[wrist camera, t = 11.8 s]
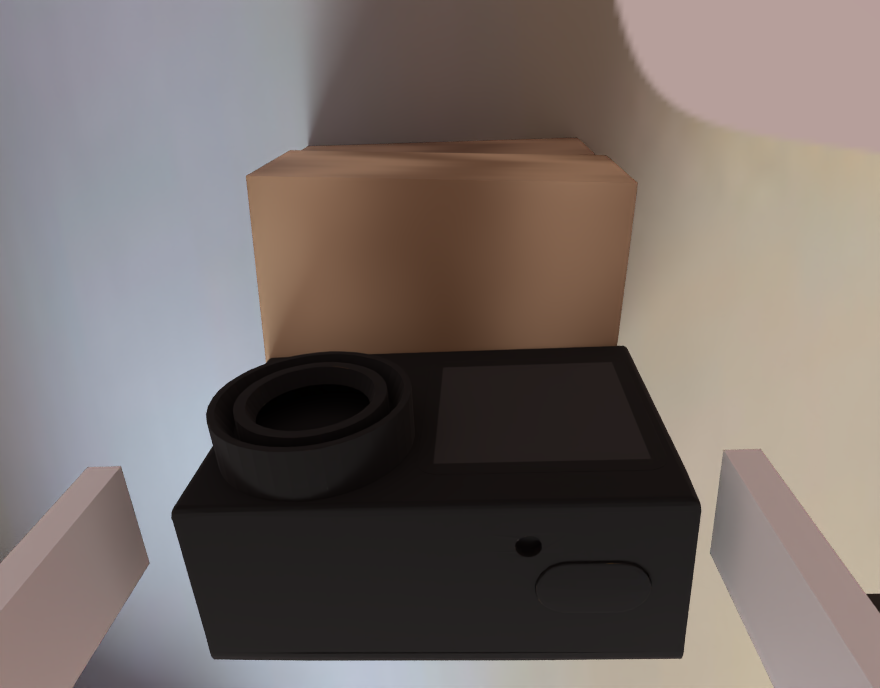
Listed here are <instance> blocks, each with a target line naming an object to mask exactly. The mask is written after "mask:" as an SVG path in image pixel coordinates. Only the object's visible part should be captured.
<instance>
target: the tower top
mask: <svg viewBox="0 0 880 688" xmlns="http://www.w3.org/2000/svg"><path fill="white" fill-rule="evenodd" d="M246 181H247V190H248V199H249V209H250V218H251V227H252V236H253V246H254V255H255V264H256V273H257V282H258V292H259V301H260V310H261V319H262V329H263V338H264V347H265V356H266V362H267V361H268V360H269V359H270V358H278V357H291V356H296V355H301V354H308V353H315V352H328V351H346V352H359V353H365V354H390V353H419V352H449V351H480V350H510V349H541V348H571V347H602V346H617V341H618V334H619V326H620V318H621V310H622V302H623V295H624V287H625V279H626V271H627V263H628V256H629V248H630V240H631V232H632V224H633V217H634V209H635V201H636V193H637V185H638V183H637V182H636V181H635V180H634V179H633V178H631V177H630V176H629V175H628V174H627V173H626V172H625V171H623V170H622V169H621V168H620V167H619V166H618V165H617V164H615V163H614V162H613V161H612V160H611V159H610V158H609V157H607V156H606V155H546V154H485V153H423V152H362V151H300V150H290V151H288V152H286V153H285V154H283V155H281V156H279V157H278V158H276V159H274V160H273V161H271V162H269V163H267V164H266V165H264V166H262V167H261V168H259V169H257V170H255V171H254V172H252V173H250V174H249V175H247V176H246Z"/></svg>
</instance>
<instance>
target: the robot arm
mask: <svg viewBox="0 0 880 688" xmlns="http://www.w3.org/2000/svg"><path fill="white" fill-rule="evenodd" d="M710 554H711V556H712V558H713V560H714V562H715V564H716V567H717V569H718V571H719V573H720V575H721V577H722V579H723V581H724V583H725V585H726V588H727V590H728V592H729V594H730V596H731V598H732V600H733V602H734V604H735V607H736V609H737V611H738V613H739V615H740V617H741V619H742V621H743V623H744V625H745V628H746V630H747V632H748V634H749V636H750V638H751V640H752V642H753V644H754V646H755V649H756V651H757V653H758V655H759V657H760V659H761V661H762V663H763V665H764V668H765V670H766V672H767V674H768V676H769V678H770V680H771V682H772V684H773V686H774V688H880V594H866V593H865V592H864V591H863V589H862V588H861V587H860V585H859V584H858V582H857V581H856V580H855V578H854V577H853V576H852V574H851V573H850V571H849V570H848V569H847V567H846V566H845V564H844V563H843V562H842V560H841V559H840V558H839V556H838V555H837V553H836V552H835V551H834V549H833V548H832V547H831V545H830V544H829V542H828V541H827V540H826V538H825V537H824V535H823V534H822V533H821V531H820V530H819V529H818V527H817V526H816V524H815V523H814V522H813V520H812V519H811V518H810V516H809V515H808V513H807V512H806V511H805V509H804V508H803V506H802V505H801V504H800V502H799V501H798V500H797V498H796V497H795V495H794V494H793V493H792V491H791V490H790V489H789V487H788V486H787V484H786V483H785V482H784V480H783V479H782V477H781V476H780V475H779V473H778V472H777V471H776V469H775V468H774V466H773V465H772V464H771V462H770V461H769V460H768V458H767V457H766V455H765V454H764V453H763V451H762V450H761V449H739V450H723V458H722V466H721V473H720V481H719V489H718V496H717V504H716V511H715V519H714V527H713V534H712V542H711V550H710ZM148 565H149V559H148V556H147V553H146V549H145V546H144V542H143V539H142V536H141V532H140V529H139V526H138V522H137V519H136V515H135V512H134V509H133V505H132V502H131V499H130V495H129V492H128V488H127V485H126V482H125V478H124V475H123V472H122V468H121V466H113V467H87V469H86V470H85V471H84V472H83V473H82V474H81V475H80V476H79V477H78V478H77V480H76V481H75V482H74V483H73V484H72V485H71V486H70V487H69V488H68V489H67V491H66V492H65V493H64V494H63V495H62V496H61V497H60V498H59V499H58V500H57V502H56V503H55V504H54V505H53V506H52V507H51V508H50V509H49V510H48V511H47V513H46V514H45V515H44V516H43V517H42V518H41V519H40V520H39V521H38V523H37V524H36V525H35V526H34V527H33V528H32V529H31V530H30V531H29V532H28V534H27V535H26V536H25V537H24V538H23V539H22V540H21V541H20V542H19V543H18V545H17V546H16V547H15V548H14V549H13V550H12V551H11V552H10V553H9V554H8V556H7V557H6V558H5V559H4V560H3V561H2V562H1V563H0V688H73V686H74V685H75V683H76V681H77V680H78V678H79V676H80V675H81V673H82V672H83V670H84V668H85V667H86V665H87V664H88V662H89V660H90V659H91V657H92V655H93V654H94V652H95V651H96V649H97V647H98V646H99V644H100V643H101V641H102V639H103V638H104V636H105V634H106V633H107V631H108V630H109V628H110V626H111V625H112V623H113V622H114V620H115V618H116V617H117V615H118V613H119V612H120V610H121V609H122V607H123V605H124V604H125V602H126V601H127V599H128V597H129V596H130V594H131V592H132V591H133V589H134V588H135V586H136V584H137V583H138V581H139V580H140V578H141V576H142V575H143V573H144V571H145V570H146V568H147V567H148Z"/></svg>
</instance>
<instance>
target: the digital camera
mask: <svg viewBox="0 0 880 688" xmlns="http://www.w3.org/2000/svg"><path fill="white" fill-rule="evenodd" d="M206 418H207V425H208V428H209V432H210V436H211V440H212V444H213V447H212V448H211V450H210V451H209V453H208V454H207V456H206V458H205V459H204V461H203V462H202V464H201V465H200V467H199V469H198V470H197V472H196V473H195V475H194V476H193V478H192V480H191V481H190V483H189V484H188V486H187V487H186V489H185V491H184V492H183V494H182V495H181V497H180V498H179V500H178V502H177V503H176V505H175V506H174V508H173V510H172V516H171V519H172V520H173V523H174V527H175V530H176V534H177V537H178V541H179V544H180V548H181V551H182V555H183V558H184V562H185V565H186V569H187V572H188V576H189V579H190V583H191V586H192V590H193V593H194V597H195V600H196V604H197V607H198V610H199V614H200V617H201V621H202V624H203V628H204V631H205V635H206V638H207V642H208V646H209V650H210V653H211V656H212V657H213V659H230V660H586V659H682V656H683V653H684V644H685V635H686V627H687V619H688V611H689V603H690V595H691V587H692V580H693V572H694V564H695V556H696V548H697V540H698V532H699V524H700V516H701V505H700V501H699V499H698V497H697V494H696V492H695V490H694V487H693V485H692V483H691V480H690V478H689V476H688V473H687V471H686V469H685V467H684V465H683V463H682V461H681V458H680V456H679V454H678V452H677V450H676V448H675V446H674V444H673V442H672V440H671V438H670V436H669V434H668V432H667V430H666V428H665V425H664V423H663V421H662V419H661V417H660V415H659V413H658V411H657V409H656V407H655V405H654V403H653V401H652V399H651V397H650V395H649V392H648V390H647V388H646V386H645V384H644V382H643V380H642V378H641V376H640V374H639V372H638V370H637V368H636V366H635V364H634V361H633V359H632V357H631V355H630V353H629V351H628V349H627V348H626V347H625V346H602V347H571V348H541V349H510V350H480V351H449V352H419V353H390V354H365V353H359V352H346V351H328V352H315V353H308V354H301V355H296V356H291V357H278V358H270V359H269V360H268V361H267V362H266V364H264V365H261V366H259V367H256V368H254V369H251V370H249V371H247V372H245V373H243V374H242V375H240V376H238V377H236V378H235V379H233V380H232V381H230V382H228V383H227V384H226V385H225V386H224V387H222V388H221V389H220V390H219V391H218V392H217V393H216V395H215V396H214V397H213V398H212V400H211V402H210V404H209V406H208V409H207V413H206Z"/></svg>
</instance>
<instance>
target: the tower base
mask: <svg viewBox="0 0 880 688" xmlns="http://www.w3.org/2000/svg"><path fill="white" fill-rule="evenodd" d="M301 151H362V152H423V153H485V154H546V155H595V154H594V153H593V152H592V151H591V150H590V149H589V148H588V147H587V146H586V145H585V144H584V143H583V142H581V141H580V140H579V139H578V138H552V139H520V140H488V141H457V142H425V143H393V144H361V145H329V146H307V147H306V148H304V149H303V150H301Z"/></svg>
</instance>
